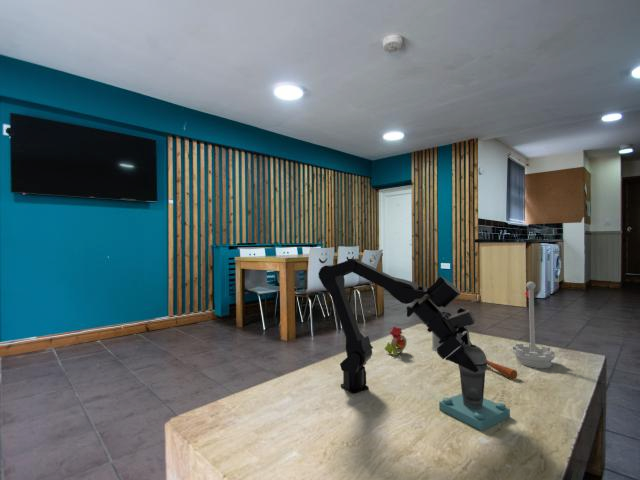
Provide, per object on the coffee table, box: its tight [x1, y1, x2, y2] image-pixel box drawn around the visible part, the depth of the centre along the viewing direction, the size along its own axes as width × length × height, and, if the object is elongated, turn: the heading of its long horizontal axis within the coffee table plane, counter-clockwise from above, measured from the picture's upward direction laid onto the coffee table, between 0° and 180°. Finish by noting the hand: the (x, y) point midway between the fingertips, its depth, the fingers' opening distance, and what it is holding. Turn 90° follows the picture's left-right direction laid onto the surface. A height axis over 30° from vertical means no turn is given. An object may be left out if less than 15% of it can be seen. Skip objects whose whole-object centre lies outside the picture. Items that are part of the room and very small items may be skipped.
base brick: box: [438, 393, 511, 432], centre depth 85 cm, size 12×12×3 cm
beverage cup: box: [457, 326, 488, 409], centre depth 85 cm, size 7×7×20 cm
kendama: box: [487, 360, 518, 381], centre depth 115 cm, size 6×6×20 cm
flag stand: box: [512, 281, 556, 369], centre depth 121 cm, size 13×13×30 cm
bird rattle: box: [384, 326, 408, 356], centre depth 133 cm, size 6×11×9 cm
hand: (478, 365), depth 84 cm, fingers open, 9 cm apart
